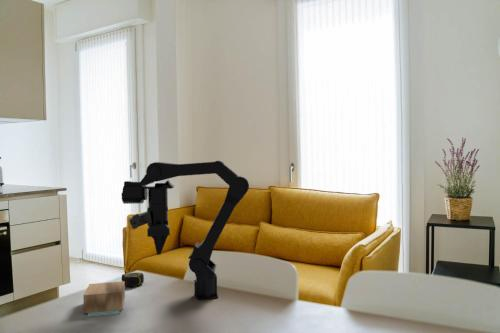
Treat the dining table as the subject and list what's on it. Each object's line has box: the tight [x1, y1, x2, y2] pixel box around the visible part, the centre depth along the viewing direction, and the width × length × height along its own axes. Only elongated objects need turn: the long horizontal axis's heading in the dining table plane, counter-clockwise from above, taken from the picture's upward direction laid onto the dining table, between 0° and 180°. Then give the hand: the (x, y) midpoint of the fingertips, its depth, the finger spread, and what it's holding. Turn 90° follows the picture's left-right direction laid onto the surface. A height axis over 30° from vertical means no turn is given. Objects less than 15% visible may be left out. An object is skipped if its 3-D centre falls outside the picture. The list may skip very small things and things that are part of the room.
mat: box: [87, 310, 121, 318], centre depth 117 cm, size 8×14×1 cm, turn 13°
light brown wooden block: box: [83, 280, 126, 314], centre depth 117 cm, size 5×10×10 cm
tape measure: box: [121, 272, 145, 287], centre depth 136 cm, size 7×7×4 cm
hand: (158, 254), depth 124 cm, fingers closed
